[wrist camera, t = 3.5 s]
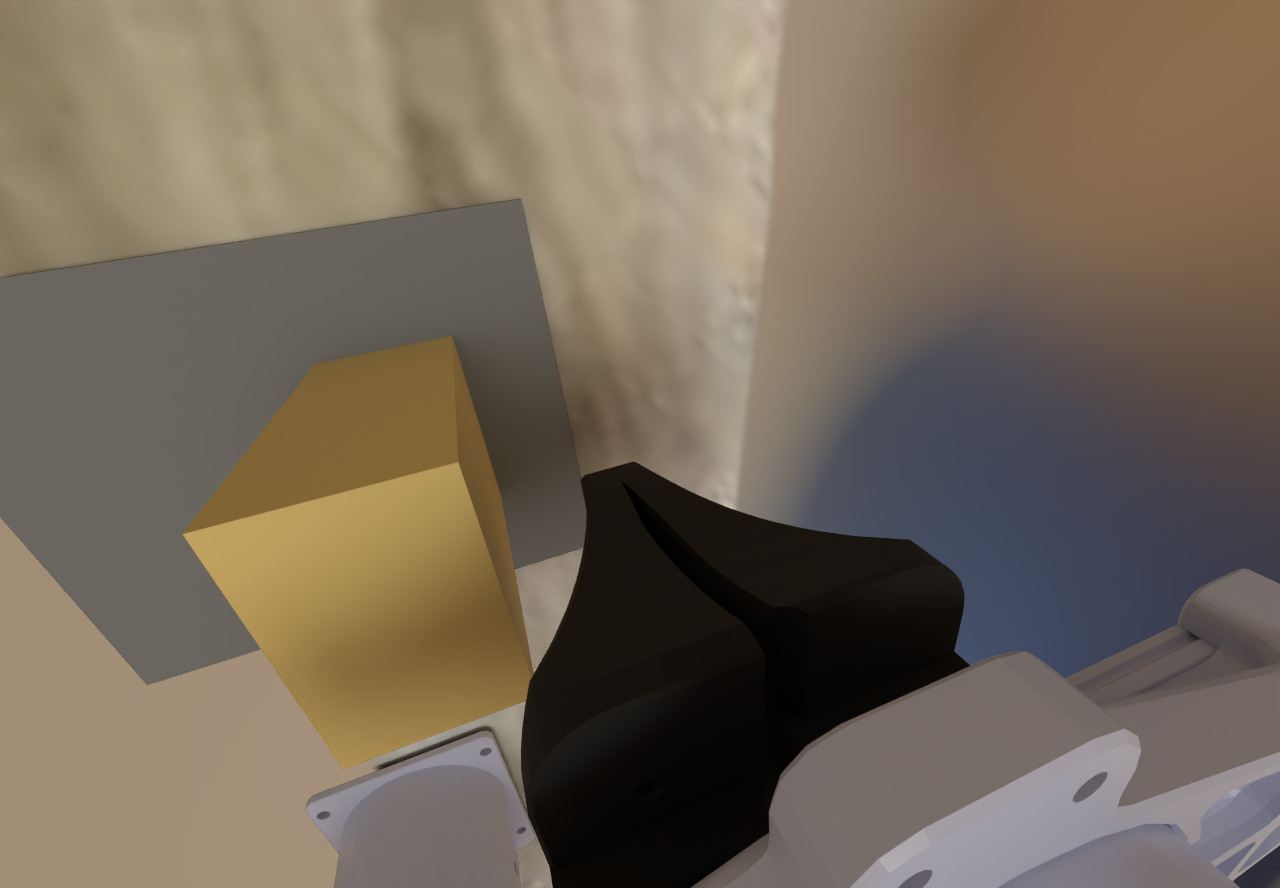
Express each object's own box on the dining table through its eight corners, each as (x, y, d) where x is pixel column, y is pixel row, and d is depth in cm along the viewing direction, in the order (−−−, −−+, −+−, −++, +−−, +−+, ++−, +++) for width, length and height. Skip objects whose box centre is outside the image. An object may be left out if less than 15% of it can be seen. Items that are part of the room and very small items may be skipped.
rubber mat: (592, 538, 22) (594, 543, 21) (152, 675, 18) (147, 685, 18) (519, 199, 16) (520, 199, 15) (-167, 303, 12) (-185, 306, 12)
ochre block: (500, 494, 19) (537, 695, 11) (386, 526, 18) (343, 769, 10) (452, 335, 16) (458, 462, 9) (314, 364, 15) (182, 533, 8)
